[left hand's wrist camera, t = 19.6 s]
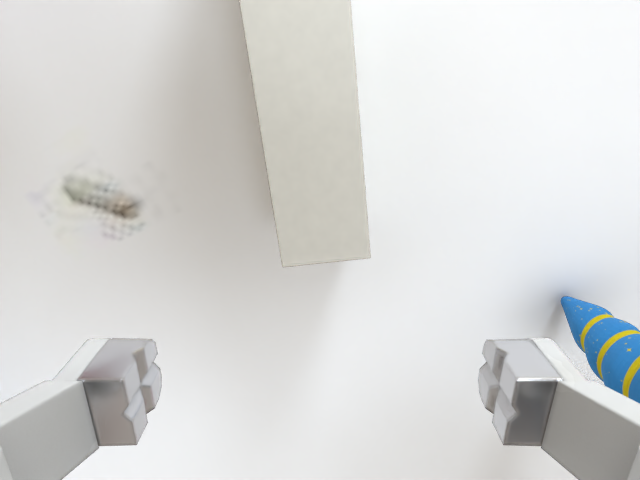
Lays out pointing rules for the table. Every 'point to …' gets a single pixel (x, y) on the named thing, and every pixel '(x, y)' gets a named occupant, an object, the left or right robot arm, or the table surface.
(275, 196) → the bar
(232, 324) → the table surface
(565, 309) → the ornament
